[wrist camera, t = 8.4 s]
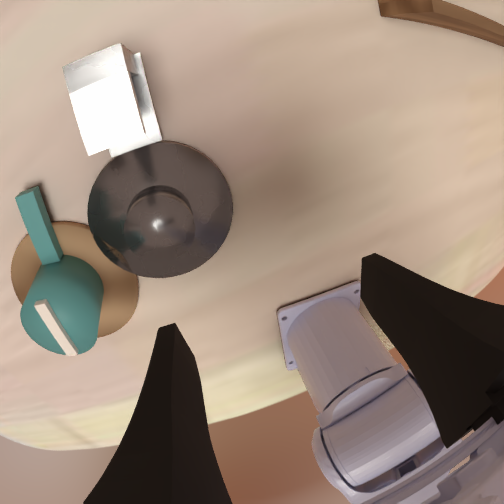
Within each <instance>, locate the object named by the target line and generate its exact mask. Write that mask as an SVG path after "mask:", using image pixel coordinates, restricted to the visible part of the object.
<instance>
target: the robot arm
mask: <svg viewBox="0 0 504 504" xmlns="http://www.w3.org/2000/svg"><path fill="white" fill-rule="evenodd" d="M360 297H361V299H362V301H363V302H364V304H365V306H366V308H367V309H368V311H369V313H370V314H371V316H372V317H373V319H374V320H375V321H376V323H377V324H378V325H379V327H380V328H381V329H382V331H383V332H384V333H385V334H386V336H387V337H388V338H389V340H390V341H391V342H392V344H393V345H394V346H395V348H396V349H397V350H398V351H399V353H400V354H401V355H402V357H403V358H404V360H405V361H406V363H407V364H408V366H409V368H410V369H409V370H408V371H406V370H405V369H404V367H403V366H402V364H401V363H398V364H397V363H396V362H395V360H394V359H393V357H392V356H391V354H390V353H389V352H388V350H387V349H386V347H385V346H384V345H383V343H382V342H381V341H380V339H379V338H378V336H377V335H376V334H375V332H374V331H373V330H372V328H371V327H370V325H369V324H368V323H367V321H366V320H365V319H364V317H363V316H362V315H361V313H360V312H359V306H360ZM284 316H285V317H284ZM277 317H278V323H279V328H280V334H281V340H282V346H283V351H284V357H285V363H286V368H287V370H293V369H296V368H297V369H298V371H299V373H300V375H301V377H302V380H303V382H304V384H305V386H306V388H307V390H308V392H309V394H310V396H311V399H312V401H313V403H314V405H315V407H316V409H317V410H318V412H319V413H320V414H319V415H317V416H316V418H317V420H318V422H319V424H320V427H318V428H316V429H315V431H314V434H313V439H312V448H313V452H314V455H315V458H316V461H317V463H318V465H319V467H320V469H321V471H322V472H323V474H324V476H325V477H326V478H327V480H328V481H329V482H330V483H331V484H332V485H333V486H334V487H335V488H337V489H339V490H340V491H341V492H342V494H343V495H344V496H345V497H346V498H347V500H348V501H349V502H350V503H352V504H504V305H499V304H495V303H491V302H487V301H483V300H480V299H477V298H474V297H470V296H468V295H465V294H462V293H459V292H457V291H454V290H452V289H449V288H447V287H444V286H442V285H440V284H438V283H435V282H433V281H431V280H429V279H427V278H425V277H423V276H421V275H418V274H416V273H414V272H412V271H410V270H408V269H406V268H405V267H403V266H401V265H399V264H397V263H395V262H393V261H391V260H389V259H387V258H385V257H383V256H380V255H378V254H376V253H374V254H371V255H368V256H366V257H363V258H362V269H361V283H360V282H359V281H354V282H352V283H349V284H347V285H344V286H341V287H339V288H336V289H333V290H331V291H328V292H325V293H323V294H320V295H317V296H314V297H312V298H309V299H306V300H303V301H300V302H297V303H295V304H292V305H289V306H286V307H283V308H281V309H279V310H278V312H277ZM472 429H473V430H474V431H475V432H474V433H472V434H471V435H470V436H469V437H467V438H466V439H465V440H464V441H462V439H461V438H462V437H464V436H465V435H466V434H467V433H469V432H470V431H471V430H472ZM470 454H471V455H470ZM469 455H470V460H469V461H468V462H467V463H466V464H464V465H463V466H461V467H460V468H458V469H457V470H455V471H454V472H452V473H451V474H450V475H448V474H449V472H450V470H451V469H452V468H453V467H454V466H456V465H457V464H458V463H460V462H461V461H462V460H464V459H465V458H466V457H467V456H469ZM83 504H232V502H231V499H230V497H229V494H228V491H227V489H226V486H225V483H224V481H223V478H222V475H221V472H220V469H219V466H218V463H217V460H216V457H215V454H214V451H213V447H212V444H211V440H210V435H209V431H208V424H207V418H206V412H205V406H204V399H203V393H202V386H201V380H200V376H199V372H198V368H197V364H196V360H195V357H194V355H193V353H192V351H191V350H190V348H189V346H188V345H187V343H186V341H185V339H184V338H183V336H182V334H181V332H180V331H179V329H178V327H177V325H176V324H175V323H173V324H170V325H166V326H163V327H160V328H159V329H158V332H157V336H156V340H155V344H154V348H153V352H152V356H151V360H150V364H149V367H148V370H147V374H146V377H145V381H144V384H143V387H142V390H141V393H140V396H139V399H138V402H137V405H136V408H135V410H134V413H133V415H132V418H131V420H130V423H129V425H128V428H127V430H126V432H125V434H124V436H123V438H122V440H121V443H120V445H119V447H118V449H117V451H116V452H115V454H114V456H113V458H112V460H111V462H110V463H109V465H108V466H107V468H106V470H105V472H104V473H103V475H102V477H101V478H100V480H99V481H98V483H97V484H96V485H95V487H94V488H93V490H92V492H91V493H90V494H89V495H88V497H87V498H86V499H85V501H84V502H83Z"/></svg>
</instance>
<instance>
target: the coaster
mask: <svg viewBox="0 0 504 504" xmlns="http://www.w3.org/2000/svg"><path fill="white" fill-rule="evenodd" d="M51 224H52V227H53V229H54V232H55V234H56V237H57V239H58V242H59V244H60V246H61V249H62V251H63V255H71V256H75V257H78V258H80V259H82V260H84V261H85V262H87V263H88V264H90V265H91V266H92V267H93V268H94V269H95V270H96V271H97V273H98V274H99V276H100V278H101V280H102V282H103V287H104V295H103V301H102V307H101V314H100V320H99V327H98V335H97V338H98V337H103V336H106V335H109V334H111V333H114V332H116V331H117V330H119V329H120V328H122V327H123V326H124V325H125V324H126V323H127V322H128V321H129V320H130V319H131V317H132V315H133V314H134V312H135V309H136V306H137V302H138V289H139V287H138V279H137V275H136V274H133V273H130V272H128V271H126V270H123V269H122V268H123V267H122V268H120V267H119V266H117V265H115V264H114V263H113V262H111V261H110V260H109V259H108V258H107V257H106V256H105V255H104V254H103V253H102V251H101V250H100V249H99V248H98V246H97V244H96V243H97V242H95V241H94V239H93V237H94V236H93V233H92V234H91V231H90V227H89V226H87V225H84V224H80V223H75V222H67V221H62V222H52V223H51ZM99 237H100V236H99ZM102 240H103V239H102ZM103 241H104V240H103ZM106 244H107V243H106ZM103 245H104V244H103ZM108 246H109V244H108V245H107V248H108ZM110 247H111V246H109V248H108V249H114V248H115V247H114V248H113V247H112V248H110ZM114 250H116V249H114ZM114 250H111V251H114ZM111 251H110V252H111ZM116 251H117V250H116ZM112 253H113V252H112ZM115 253H116V254H115ZM117 253H119V252H115V251H114V253H113V254H115V255H116V256H118V254H117ZM120 254H121V253H120ZM120 256H121V257H122V258H123V255H122V254H121V255H119V257H118V258H119V259H120V260H123V261H122V263H123V262H125V263H126V262H127V260H124V258H123V259H121V258H120ZM115 259H116V258H115ZM127 263H128V262H127ZM127 263H126V264H127ZM41 264H42V263H41V260H40V258H39V256H38V254H37V252H36V250H35V247H34V245H33V243H32V240H31V238H30V236H29V234H27V236H26V237H25V238H24V239H23V240H22V241H21V243H20V245H19V246H18V248H17V249H16V251H15V254H14V256H13V260H12V264H11V278H12V283H13V287H14V290H15V293H16V295H17V297H18V299H19V301H20V302H21V304H22V305H23V303H24V301H25V298H26V296H27V294H28V291H29V289H30V287H31V285H32V283H33V280H34V278H35V276H36V274H37V272H38V270H39V268H40V266H41ZM123 265H124V264H123ZM127 265H128V264H127ZM127 265H126V266H127ZM128 266H129V265H128ZM129 269H131V268H130V267H129ZM129 269H128V270H129ZM131 272H132V271H131Z"/></svg>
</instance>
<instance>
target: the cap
mask: <svg viewBox="0 0 504 504" xmlns="http://www.w3.org/2000/svg"><path fill="white" fill-rule="evenodd" d="M15 199H16V202H17V205H18V208H19V210H20V213H21V216H22V218H23V221H24V223H25V226H26V228H27V231H28V233H29V236H30V238H31V240H32V243H33V245H34V247H35V250H36V252H37V254H38V256H39V258H40V260H41V263H42V264H41V266H40V268H39V270H38V272H37V274H36V276H35V278H34V280H33V283H32V285H31V287H30V289H29V291H28V294H27V296H26V298H25V301H24V303H23V306H22V308H21V313H20V316H21V322H22V325H23V327H24V329H25V331H26V332H27V334H28V335H29V336H30V337H31V338H32V339H33V340H34V341H35V342H36V343H37V344H39V345H40V346H42V347H43V348H45V349H47V350H49V351H52V352H55V353H58V354H63V355H67V356H73V355H78V354H81V353H84V352H86V351H88V350H90V349H91V348H92V347H93V346H94V344H95V342H96V340H97V335H98V327H99V320H100V314H101V307H102V301H103V295H104V287H103V282H102V280H101V278H100V276H99V274H98V273H97V271H96V270H95V269H94V268H93V267H92V266H91V265H90V264H88V263H87V262H85V261H84V260H82V259H80V258H78V257H75V256H71V255H63V251H62V249H61V246H60V244H59V242H58V239H57V237H56V234H55V232H54V229H53V227H52V224H51V221H50V219H49V216H48V213H47V210H46V207H45V205H44V202H43V199H42V196H41V193H40V190H39V186H36V187H33V188H31V189H28V190H25V191H23V192H20V193H19V194H18V195H17V196H16V197H15Z"/></svg>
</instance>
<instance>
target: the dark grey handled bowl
mask: <svg viewBox="0 0 504 504" xmlns="http://www.w3.org/2000/svg"><path fill="white" fill-rule="evenodd" d="M62 68H63V72H64V76H65V80H66V84H67V88H68V91H69V95H70V99H71V102H72V106H73V109H74V112H75V116H76V119H77V122H78V126H79V129H80V132H81V135H82V138H83V141H84V144H85V147H86V150H87V153H88V156H90V155H92V154H95V153H97V152H100V151H102V150H105V149H107V148H108V149H109V152H110V155H111V157H114V158H113V159H112V160H111V161H110V162H109V163H108V164H107V165H106V166H105V167H104V169H103V170H102V171H101V173H100V174H99V176H98V177H97V179H96V181H95V183H94V185H93V187H92V190H91V193H90V196H89V201H88V223H89V227H90V231H91V234H92V233H93V236H94V237H93V239H94V241H95V242H97V243H96V244H97V246H98V248H99V249H100V250H101V251H102V253H103V254H104V255H105V256H106V257H107V258H108V259H109V260H110V261H111V262H113V263H114V264H115V265H117V266H119V267H120V268H122V267H123V268H122V269H123V270H126V271H128V272H130V273H133V274H136V275H139V276H144V277H151V278H166V277H173V276H177V275H181V274H184V273H187V272H190V271H192V270H194V269H196V268H197V267H199V266H201V265H202V264H204V263H205V262H206V261H207V260H209V259H210V258H211V257H212V256H213V255H214V254H215V253H216V252H217V251H218V249H219V248H220V247H221V245H222V244H223V242H224V240H225V239H226V237H227V234H228V232H229V229H230V226H231V222H232V215H233V203H232V197H231V193H230V189H229V186H228V184H227V182H226V180H225V178H224V176H223V175H222V173H221V172H220V170H219V169H218V167H217V166H216V165H215V164H214V163H213V162H212V160H210V159H209V158H208V157H207V156H206V155H204V154H203V153H201V152H200V151H198V150H196V149H194V148H192V147H190V146H188V145H185V144H181V143H178V142H171V141H161V140H162V135H161V131H160V128H159V124H158V121H157V117H156V113H155V109H154V106H153V102H152V98H151V94H150V90H149V86H148V82H147V78H146V74H145V70H144V66H143V62H142V58H141V54H140V53H136V54H133V53H132V52H131V51H130V50H128V49H127V48H126V47H125V46H124V45H122V44H121V43H119V44H116V45H114V46H111V47H108V48H106V49H103V50H100V51H98V52H95V53H93V54H90V55H88V56H86V57H83V58H81V59H79V60H77V61H74V62H72V63H70V64H68V65H66V66H64V67H62ZM115 156H116V157H115ZM99 236H100V237H99ZM102 239H103V240H104V241H103V240H102ZM106 243H107V244H106ZM103 244H104V245H103ZM108 244H109V246H111V247H110V248H112V247H113V248H114V247H115V248H114V249H116V250H117V251H116V250H114V249H108V248H109V246H108V248H107V245H108ZM111 250H114V251H115V252H119V253H117V254H118V256H116V255H115V254H116V253H115V254H113V253H114V251H111ZM110 251H111V252H110ZM112 252H113V253H112ZM120 253H121V254H122V255H123V258H124V260H127V262H128V263H127V262H126V263H127V264H128V265H129V266H128V265H127V264H126V263H125V262H123V263H122V261H123V260H120V259H119V258H118V257H119V255H121V254H120ZM115 258H116V259H115ZM120 258H121V259H123V258H122V257H121V256H120ZM123 264H124V265H123ZM126 265H127V266H126ZM129 267H130V268H131V269H129ZM128 269H129V270H128ZM131 271H132V272H131Z"/></svg>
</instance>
